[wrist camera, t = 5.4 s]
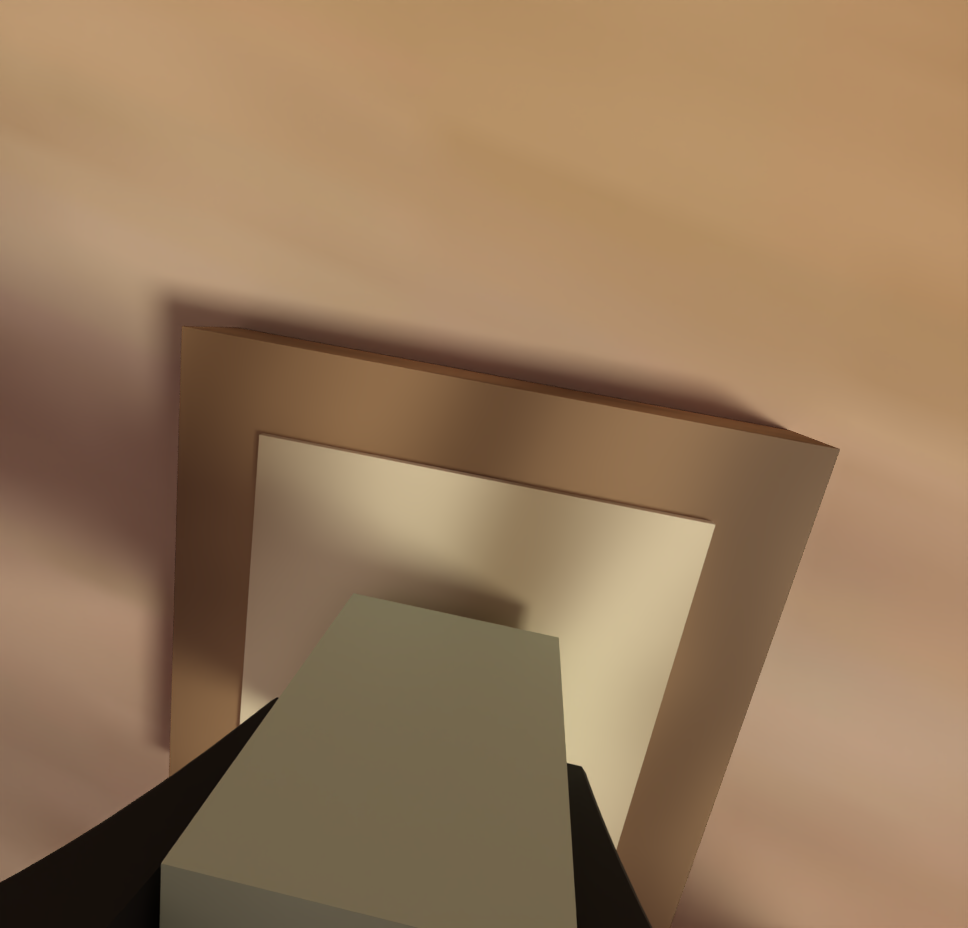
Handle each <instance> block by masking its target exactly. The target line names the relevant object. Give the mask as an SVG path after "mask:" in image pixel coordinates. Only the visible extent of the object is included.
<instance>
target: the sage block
mask: <svg viewBox="0 0 968 928" xmlns="http://www.w3.org/2000/svg"><path fill="white" fill-rule="evenodd" d="M160 928H577V919H576V903H575V887H574V871H573V855H572V839H571V823H570V807H569V791H568V775H567V759H566V743H565V727H564V711H563V695H562V679H561V663H560V648H559V637H554V636H549V635H545V634H540V633H536V632H531V631H526V630H522V629H517V628H512V627H508V626H503V625H499V624H494V623H489V622H485V621H480V620H475V619H471V618H466V617H461V616H457V615H452V614H448V613H443V612H438V611H434V610H429V609H424V608H420V607H415V606H411V605H406V604H401V603H397V602H392V601H387V600H383V599H378V598H374V597H369V596H364V595H360V594H355V593H353V595H352V596H351V597H350V599H349V600H348V602H347V603H346V604H345V606H344V607H343V609H342V610H341V611H340V613H339V614H338V616H337V617H336V618H335V620H334V621H333V623H332V624H331V625H330V627H329V628H328V630H327V631H326V632H325V634H324V635H323V637H322V638H321V639H320V641H319V642H318V644H317V645H316V647H315V648H314V649H313V651H312V652H311V654H310V655H309V656H308V658H307V659H306V661H305V662H304V663H303V665H302V666H301V668H300V669H299V670H298V672H297V673H296V675H295V676H294V677H293V679H292V680H291V682H290V683H289V684H288V686H287V687H286V689H285V690H284V691H283V693H282V694H281V696H280V697H279V698H278V700H277V701H276V703H275V704H274V705H273V707H272V708H271V710H270V711H269V713H268V714H267V715H266V717H265V718H264V720H263V721H262V722H261V724H260V725H259V727H258V728H257V729H256V731H255V732H254V734H253V735H252V736H251V738H250V739H249V741H248V742H247V743H246V745H245V746H244V748H243V749H242V750H241V752H240V753H239V755H238V756H237V757H236V759H235V760H234V762H233V763H232V764H231V766H230V767H229V769H228V770H227V771H226V773H225V774H224V776H223V777H222V778H221V780H220V781H219V783H218V784H217V786H216V787H215V788H214V790H213V791H212V793H211V794H210V795H209V797H208V798H207V800H206V801H205V802H204V804H203V805H202V807H201V808H200V809H199V811H198V812H197V814H196V815H195V816H194V818H193V819H192V821H191V822H190V823H189V825H188V826H187V828H186V829H185V830H184V832H183V833H182V835H181V836H180V837H179V839H178V840H177V842H176V843H175V844H174V846H173V847H172V849H171V850H170V852H169V853H168V854H167V856H166V857H165V859H164V860H163V861H162V863H161V888H160Z"/></svg>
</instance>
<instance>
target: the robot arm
mask: <svg viewBox="0 0 968 928" xmlns="http://www.w3.org/2000/svg"><path fill="white" fill-rule="evenodd" d="M277 700H278V697H276V698H275V699H273V700H272V701H270V702H269V703H267V704H266V705H265V706H264V707H262V708H261V709H260V710H258V711H257V712H256V713H255V714H253V715H252V716H251V717H249V718H248V719H247V720H245V721H244V722H243V723H242V724H240V725H239V726H238V727H236V728H235V729H234V730H233V731H231V732H230V733H229V734H227V735H226V736H225V737H223V738H222V739H221V740H219V741H218V742H217V743H215V744H214V745H213V746H211V747H210V748H209V749H207V750H206V751H205V752H203V753H202V754H201V755H199V756H198V757H196V758H195V759H194V760H192V761H191V762H190V763H188V764H187V765H185V766H184V767H183V768H181V769H180V770H178V771H177V772H176V773H174V774H173V775H172V776H170V777H169V778H167V779H166V780H165V781H163V782H162V783H160V784H159V785H157V786H156V787H154V788H153V789H151V790H150V791H148V792H147V793H145V794H144V795H142V796H141V797H139V798H138V799H136V800H135V801H133V802H132V803H131V804H129V805H128V806H126V807H125V808H123V809H122V810H120V811H119V812H117V813H116V814H114V815H113V816H111V817H110V818H108V819H107V820H105V821H103V822H102V823H100V824H99V825H97V826H95V827H94V828H92V829H91V830H89V831H88V832H86V833H84V834H83V835H81V836H80V837H78V838H76V839H75V840H73V841H71V842H70V843H68V844H66V845H65V846H63V847H61V848H60V849H58V850H56V851H55V852H53V853H51V854H50V855H48V856H46V857H44V858H43V859H41V860H39V861H38V862H36V863H34V864H33V865H31V866H29V867H27V868H26V869H24V870H22V871H20V872H19V873H17V874H15V875H13V876H11V877H9V878H8V879H6V880H4V881H2V882H0V928H160V888H161V863H162V861H163V860H164V859H165V857H166V856H167V854H168V853H169V852H170V850H171V849H172V847H173V846H174V844H175V843H176V842H177V840H178V839H179V837H180V836H181V835H182V833H183V832H184V830H185V829H186V828H187V826H188V825H189V823H190V822H191V821H192V819H193V818H194V816H195V815H196V814H197V812H198V811H199V809H200V808H201V807H202V805H203V804H204V802H205V801H206V800H207V798H208V797H209V795H210V794H211V793H212V791H213V790H214V788H215V787H216V786H217V784H218V783H219V781H220V780H221V778H222V777H223V776H224V774H225V773H226V771H227V770H228V769H229V767H230V766H231V764H232V763H233V762H234V760H235V759H236V757H237V756H238V755H239V753H240V752H241V750H242V749H243V748H244V746H245V745H246V743H247V742H248V741H249V739H250V738H251V736H252V735H253V734H254V732H255V731H256V729H257V728H258V727H259V725H260V724H261V722H262V721H263V720H264V718H265V717H266V715H267V714H268V713H269V711H270V710H271V708H272V707H273V705H274V704H275V703H276V701H277ZM567 775H568V791H569V807H570V823H571V839H572V855H573V871H574V887H575V903H576V919H577V928H652V926H651V924H650V922H649V920H648V918H647V915H646V913H645V911H644V909H643V907H642V905H641V903H640V901H639V899H638V897H637V895H636V892H635V890H634V888H633V886H632V884H631V882H630V879H629V877H628V875H627V873H626V871H625V869H624V866H623V864H622V862H621V860H620V858H619V855H618V853H617V851H616V848H615V846H614V844H613V841H612V839H611V837H610V834H609V832H608V829H607V827H606V825H605V822H604V820H603V817H602V815H601V812H600V810H599V807H598V804H597V802H596V799H595V797H594V794H593V791H592V789H591V786H590V783H589V780H588V777H587V775H586V772H585V771H584V769H583V768H582V766H578V765H574V764H569V763H567Z"/></svg>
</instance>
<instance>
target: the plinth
mask: <svg viewBox="0 0 968 928" xmlns="http://www.w3.org/2000/svg"><path fill="white" fill-rule="evenodd" d="M839 451H840V449H838V448H835V447H833V446H830V445H827V444H825V443H822V442H819V441H817V440H814V439H811V438H809V437H806V436H804V435H801V434H798V433H796V432H793V431H790V430H785V429H780V428H775V427H769V426H764V425H758V424H753V423H748V422H742V421H737V420H732V419H726V418H721V417H715V416H710V415H705V414H699V413H694V412H689V411H683V410H678V409H672V408H667V407H662V406H656V405H651V404H646V403H640V402H635V401H629V400H624V399H619V398H613V397H608V396H603V395H597V394H592V393H586V392H581V391H576V390H570V389H565V388H560V387H554V386H549V385H543V384H538V383H533V382H527V381H522V380H517V379H511V378H506V377H500V376H495V375H490V374H484V373H479V372H474V371H468V370H463V369H457V368H452V367H447V366H441V365H436V364H431V363H425V362H420V361H414V360H409V359H404V358H398V357H393V356H388V355H382V354H377V353H371V352H366V351H361V350H355V349H350V348H345V347H339V346H334V345H328V344H323V343H318V342H312V341H307V340H302V339H296V338H291V337H285V336H280V335H275V334H269V333H264V332H259V331H253V330H248V329H242V328H231V327H194V326H182V338H181V373H180V409H179V444H178V479H177V515H176V550H175V586H174V621H173V657H172V692H171V727H170V763H169V777H170V776H172V775H173V774H174V773H176V772H177V771H178V770H180V769H181V768H183V767H184V766H185V765H187V764H188V763H190V762H191V761H192V760H194V759H195V758H196V757H198V756H199V755H201V754H202V753H203V752H205V751H206V750H207V749H209V748H210V747H211V746H213V745H214V744H215V743H217V742H218V741H219V740H221V739H222V738H223V737H225V736H226V735H227V734H229V733H230V732H231V731H233V730H234V729H235V728H236V727H238V726H239V725H240V724H242V723H243V722H244V721H245V720H247V719H248V718H249V717H251V716H252V715H253V714H255V713H256V712H257V711H258V710H260V709H261V708H262V707H264V706H265V705H266V704H267V703H269V702H270V701H272V700H273V699H275V698H276V697H278V698H279V697H280V696H281V694H282V693H283V691H284V690H285V689H286V687H287V686H288V684H289V683H290V682H291V680H292V679H293V677H294V676H295V675H296V673H297V672H298V670H299V669H300V668H301V666H302V665H303V663H304V662H305V661H306V659H307V658H308V656H309V655H310V654H311V652H312V651H313V649H314V648H315V647H316V645H317V644H318V642H319V641H320V639H321V638H322V637H323V635H324V634H325V632H326V631H327V630H328V628H329V627H330V625H331V624H332V623H333V621H334V620H335V618H336V617H337V616H338V614H339V613H340V611H341V610H342V609H343V607H344V606H345V604H346V603H347V602H348V600H349V599H350V597H351V596H352V595H353V593H355V594H360V595H364V596H369V597H374V598H378V599H383V600H387V601H392V602H397V603H401V604H406V605H411V606H415V607H420V608H424V609H429V610H434V611H438V612H443V613H448V614H452V615H457V616H461V617H466V618H471V619H475V620H480V621H485V622H489V623H494V624H499V625H503V626H508V627H512V628H517V629H522V630H526V631H531V632H536V633H540V634H545V635H549V636H554V637H559V648H560V663H561V679H562V695H563V711H564V727H565V743H566V759H567V763H569V764H574V765H578V766H582V768H583V769H584V771H585V772H586V775H587V777H588V780H589V783H590V786H591V789H592V791H593V794H594V797H595V799H596V802H597V804H598V807H599V810H600V812H601V815H602V817H603V820H604V822H605V825H606V827H607V829H608V832H609V834H610V837H611V839H612V841H613V844H614V846H615V848H616V851H617V853H618V855H619V858H620V860H621V862H622V864H623V866H624V869H625V871H626V873H627V875H628V877H629V879H630V882H631V884H632V886H633V888H634V890H635V892H636V895H637V897H638V899H639V901H640V903H641V905H642V907H643V909H644V911H645V913H646V915H647V918H648V920H649V922H650V924H651V926H652V928H670V926H671V923H672V920H673V917H674V915H675V912H676V909H677V906H678V903H679V901H680V898H681V895H682V892H683V889H684V887H685V884H686V881H687V878H688V875H689V872H690V870H691V867H692V864H693V861H694V858H695V856H696V853H697V850H698V847H699V844H700V842H701V839H702V836H703V833H704V830H705V827H706V825H707V822H708V819H709V816H710V813H711V811H712V808H713V805H714V802H715V799H716V797H717V794H718V791H719V788H720V785H721V783H722V780H723V777H724V774H725V771H726V768H727V766H728V763H729V760H730V757H731V754H732V752H733V749H734V746H735V743H736V740H737V738H738V735H739V732H740V729H741V726H742V723H743V721H744V718H745V715H746V712H747V709H748V707H749V704H750V701H751V698H752V695H753V693H754V690H755V687H756V684H757V681H758V678H759V676H760V673H761V670H762V667H763V664H764V662H765V659H766V656H767V653H768V650H769V648H770V645H771V642H772V639H773V636H774V634H775V631H776V628H777V625H778V622H779V619H780V617H781V614H782V611H783V608H784V605H785V603H786V600H787V597H788V594H789V591H790V589H791V586H792V583H793V580H794V577H795V574H796V572H797V569H798V566H799V563H800V560H801V558H802V555H803V552H804V549H805V546H806V544H807V541H808V538H809V535H810V532H811V529H812V527H813V524H814V521H815V518H816V515H817V513H818V510H819V507H820V504H821V501H822V499H823V496H824V493H825V490H826V487H827V484H828V482H829V479H830V476H831V473H832V470H833V468H834V465H835V462H836V459H837V456H838V454H839Z"/></svg>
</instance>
